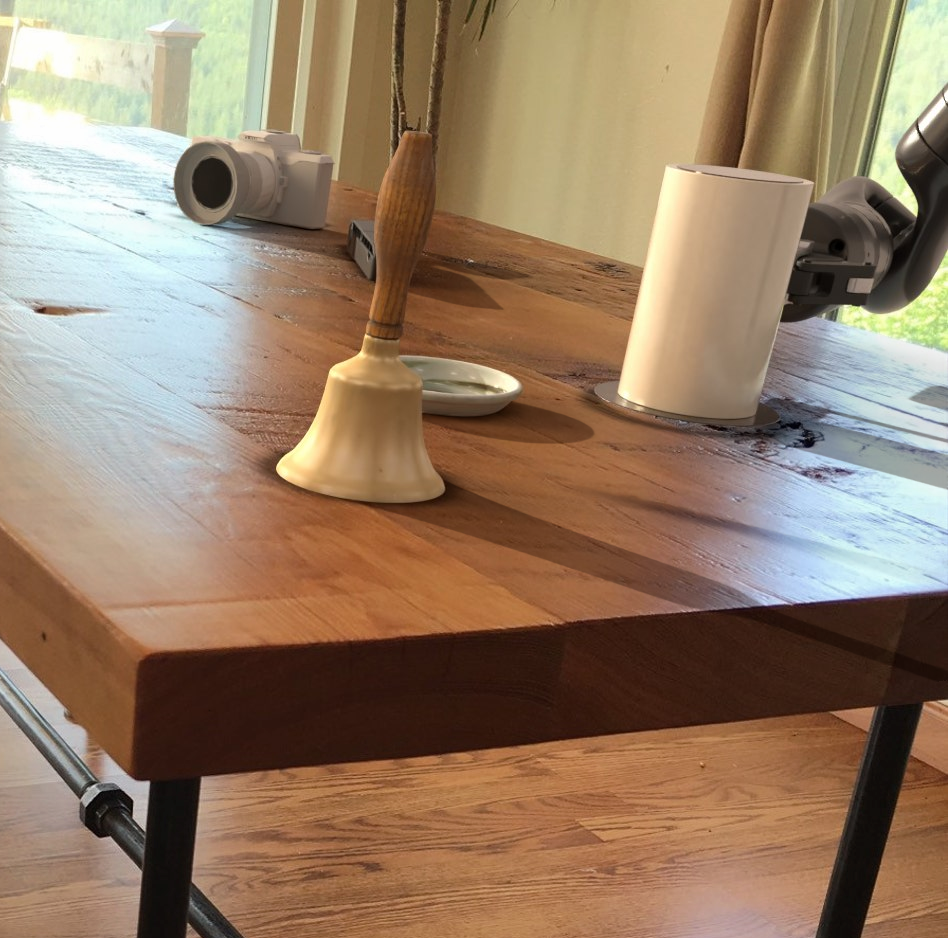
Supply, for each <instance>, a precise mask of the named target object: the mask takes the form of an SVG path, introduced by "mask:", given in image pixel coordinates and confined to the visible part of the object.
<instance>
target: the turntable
mask: <svg viewBox="0 0 948 938" xmlns="http://www.w3.org/2000/svg"><path fill="white" fill-rule="evenodd" d="M619 381H620V380H613V381H607V382H602V383H599V384H597V385H596V386H594V389H593V392H594V393H595V395H597V396H598V397H599V398H601V399H602V400H604V401H607V402H609V403H611V404H613V405H615V406H618V407H621V408H623V409H628V410H630V411H634V412H637V413H641V414H646V415H650V416H654V417H657V418H658V417H659V418H664V419H669V420H674V421H681V422H687V423H694V424H700V425H701V424H702V425H711V426H723V427H761V426H767V425H772V424H776V423H777V422H779V421H780V420H781V414H780V413H779V411H776V409H774V408H772V407H770V406H769V405H766V404H764V403H762V402H760V401H759V405H758V409H757V413H756V414H755V415H754V416H751V417H748V418H741V419H713V418H702V417H694V416H686V415H680V414H674V413H669V412H664V411H660V410H656V409H652V408H648V407H645V406H641V405H638V404H636V403H633V402H630V401H628V400H626V399H624V398H623V397H621V396H620V395H619V394H618V386H619Z"/></svg>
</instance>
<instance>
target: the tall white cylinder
mask: <svg viewBox="0 0 948 938" xmlns="http://www.w3.org/2000/svg"><path fill="white" fill-rule="evenodd" d="M661 182H662V183H661V186H660V190H659V196H658V200H657V204H656V209H655V214H654V219H653V224H652V228H651V233H650V237H649V242H648V247H647V251H646V256H645V260H644V266H643V270H642V275H641V280H640V284H639V289H638V293H637V298H636V302H635V307H634V312H633V317H632V322H631V326H630V330H629V335H628V340H627V345H626V349H625V353H624V354H625V355H624V359H623V362H622V368H621V373H620V377H619V380H618V381H619V386H618V394H619V395H620V396H621V397H623V398H624V399H626V400H628V401H630V402H633V403H636V404H638V405H641V406H645V407H648V408H652V409H656V410H660V411H664V412H669V413H674V414H680V415H686V416H694V417H702V418H713V419H741V418H748V417H751V416H754V415H755V414H756V413H757V409H758V405H759V402H760V400H761V398H762V393H763V389H764V385H765V381H766V377H767V373H768V369H769V366H770V361H771V357H772V353H773V350H774V346H775V342H776V338H777V333H778V329H779V326H780V323H781V322H780V318H781V314H782V310H783V306H784V302H785V298H786V294H787V290H788V287H789V283H790V279H791V275H792V271H793V267H794V263H795V259H796V255H797V251H798V247H799V243H800V239H801V235H802V231H803V227H804V223H805V219H806V216H807V212H808V208H809V204H810V203H811V199H812V197H813V196H812V195H813V191H814V188H815V182H813V181H812V180H809V179H805V178H802V177H796V176H791V175H787V174H786V175H785V174H781V173H774V172H770V171H769V172H768V171H761V170H755V169H747V168H739V167H729V166H719V165H709V164H693V163H691V164H690V163H669V164H666V165H665V167H664V172H663V177H662V181H661Z"/></svg>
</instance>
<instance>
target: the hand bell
mask: <svg viewBox="0 0 948 938" xmlns="http://www.w3.org/2000/svg"><path fill="white" fill-rule="evenodd" d="M434 163H435V162H434V155H433V134H432V133H429V132H424V131H416V130H405V131H404V132H403V134H402V136H401V139H400V141H399V144H398V146H397V149H396V151H395V153H394V155H393V157H392V159H391V161H390V163H389V165H388V167H387V169H386V171H385V174H384V175H383V179H382V182H381V185H380V188H379V192H378V196H377V201H376V208H375V213H374V214H375V215H374V221H375V226H374V243H375V253H376V261H377V277H376V281H375V286H374V292H373V295H372V301H371V305H370V309H369V315H368V319H369V320H368V321H367V323H366V326H365V327H366V328H365V334H364V336H363V342H362V346H361V350H360V352H359V353H358V354H357V355H355V356H353V357H351V358H349V359H347V360H344V361H342V362H339V363H336V364H334V365H333V366H332V367H331V368H330V370H329V372H328V376H327V380H326V384H325V386H324V387H325V388H324V391H323V395H322V397H321V400H320V405H319V407H318V410H317V412H316V415H315V417H314V419H313V421H312V423H311V425H310V427H309V429H308V431H307V432H306V433H305V435H304V437H303V438H302V439H301V440H300V442H299V443H298V444H297V445H296V446H295V447H294V449H292V450H291V451H289V452H287V453H286V454H285V455H283V457H281V459H280V460H279V461H278V463H277V465H276V468H275V469H276V472H277V474H278V475H279V476H280V477H281V478H282V479H284V480H285V481H286V482H288V483H291V484H292V485H295V486H296V487H300V488H303V489H305V490H308V491H311V492H314V493H318V494H322V495H326V496H331V497H335V498H341V499H347V500H351V501H360V502H370V503H385V504H387V503H388V504H405V503H417V502H424V501H430V500H433V499H436V498H438V497H440V496H442V495H443V494H444V493H445V491H446V487H445V483H444V480H443V478H442V477H441V475H440V473H438V472H437V471H436V469H435V468H434V466H433V464H432V461H431V458H430V457H429V454H428V451H427V448H426V443H425V439H424V431H423V413H422V391H423V390H424V389H423V383H422V379H421V378H420V377H419V375H418V374H416V373H415V372H413V371H412V370H410V369H409V368H408V367H407V366H406V365H405V364H404V363H403V362H402V361H401V360H400V358H399V356H400V353H399V352H400V345H401V340H400V338H401V337H402V336H403V334H404V326H403V324H404V322H405V317H406V310H407V302H408V296H409V295H408V293H409V288H410V283H411V279H412V276H413V274H414V271H415V268H416V266H417V264H418V262H419V260H420V258H421V256H422V253H423V251H424V249H425V246H426V244H427V240H428V237H429V234H430V231H431V227H432V223H433V219H434V218H433V217H434V212H435V207H436V197H437V180H436V179H437V178H436V170H435V164H434Z"/></svg>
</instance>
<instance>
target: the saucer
mask: <svg viewBox="0 0 948 938" xmlns="http://www.w3.org/2000/svg"><path fill="white" fill-rule="evenodd" d="M399 358H400V360H401V361H402V362H403V363H404V364H405V365H406V366H407V367H408V368H409V369H410V370H412V371H413V372H415V373H416V374H418V375H419V377H420V378H421V379H422V383H423V391H422V414H426V415H427V414H430V415H436V416H445V417H482V416H488V415H489V416H490V415H492V414H495V413H497V412H500V411H501V410H502V409H504V408H505V407H506V406H508V405H509V404H510V403H511V402H512V401H515V400H517V399H518V398H520V396H522V393H523V390H524V389H523V385H522V383H521V381H519V379H517V378H515V377H514V376H512V375H511V374H509V373H506V372H503V371H501V370H498V369H495V368H493V367H489V366H485V365H482V364H477V363H473V362H468V361H467V362H466V361H462V360H456V359H451V358H442V357H432V356H423V355H399Z"/></svg>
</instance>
